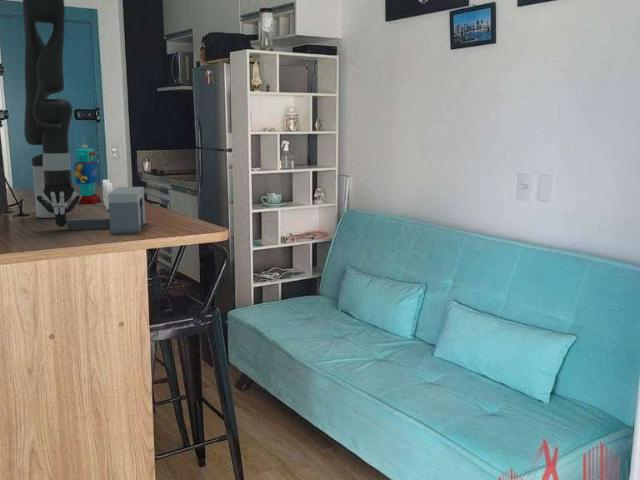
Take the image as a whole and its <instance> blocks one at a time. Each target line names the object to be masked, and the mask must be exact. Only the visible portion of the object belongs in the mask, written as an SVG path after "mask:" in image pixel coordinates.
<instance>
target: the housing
mask: <svg viewBox="0 0 640 480" xmlns="http://www.w3.org/2000/svg"><path fill="white" fill-rule="evenodd" d="M108 201H109V211H108V214H109V217H108V218H110V229H109V231H110V232H109V233H110V234H112V235H113V234H115V235H116V234H118V235H119V234H139V233H140V232H141V231H142V227H144V226H145V225H146V223H147V222H146V204H145V188H144V186H119V187H116V188H115V189H113V191H112V192H110V193H109V194H108ZM140 214H141V215H140Z"/></svg>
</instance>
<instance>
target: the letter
mask: <svg viewBox="0 0 640 480" xmlns="http://www.w3.org/2000/svg"><path fill="white" fill-rule="evenodd" d="M101 183H102V184H101V186H102V201H103V206H104V207H105V208H106V209H105V210H106V211H108V212H109V201H108V194H109V193H110V192H112V191H113V190H114V189H113V184H112V182H110V179H102V182H101Z"/></svg>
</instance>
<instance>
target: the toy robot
mask: <svg viewBox="0 0 640 480" xmlns="http://www.w3.org/2000/svg"><path fill="white" fill-rule="evenodd" d="M82 141H85V143H84V142H82V145H81V148H80V149H75V154H76V161H75V163H74V177H75V183H76V184H79V187H80V188H79V189H80V195H82V198H81V199H80V200H79V202H78V203H79V204H80V205H87V204H88V205H94V204H96V203H99V202H101V200H102V199H101V196H99V195H98V194H97V193H96V185H95V184H96V182H98V181H99V176H98V175H99V174H98V173H99V171H98V162H97V161H96V160H95V151H94V148H89V146H88V145H86V143H87V141H86V139H85V138H83V140H82Z"/></svg>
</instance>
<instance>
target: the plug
mask: <svg viewBox="0 0 640 480" xmlns="http://www.w3.org/2000/svg"><path fill="white" fill-rule="evenodd" d="M140 215H141V214H140ZM66 226H67V227H66V228H67V231H86V230H87V231H90V230H92V231H93V230H110V217H93V218H92V217H91V218H90V217H88V218H85V217H84V218H67V223H66Z"/></svg>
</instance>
